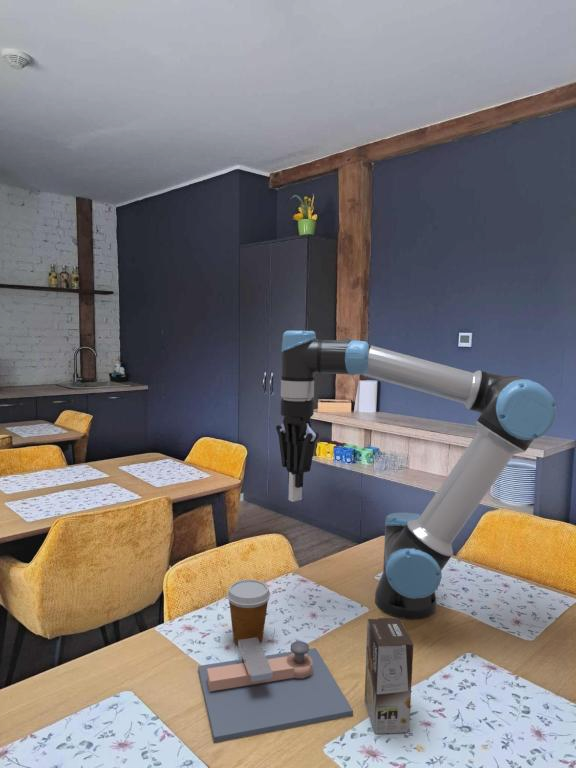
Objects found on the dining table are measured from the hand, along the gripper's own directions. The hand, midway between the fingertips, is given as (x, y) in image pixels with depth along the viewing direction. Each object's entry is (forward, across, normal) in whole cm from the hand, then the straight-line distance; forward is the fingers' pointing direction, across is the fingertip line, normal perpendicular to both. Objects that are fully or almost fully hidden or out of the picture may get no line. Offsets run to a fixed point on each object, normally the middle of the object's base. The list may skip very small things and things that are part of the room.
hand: (295, 499), depth 128 cm
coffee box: (+30, -35, +6) cm, 46 cm away
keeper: (+29, -14, +20) cm, 39 cm away
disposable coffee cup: (+30, -1, +13) cm, 32 cm away
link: (+28, -15, +19) cm, 37 cm away
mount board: (+29, -18, +19) cm, 39 cm away
